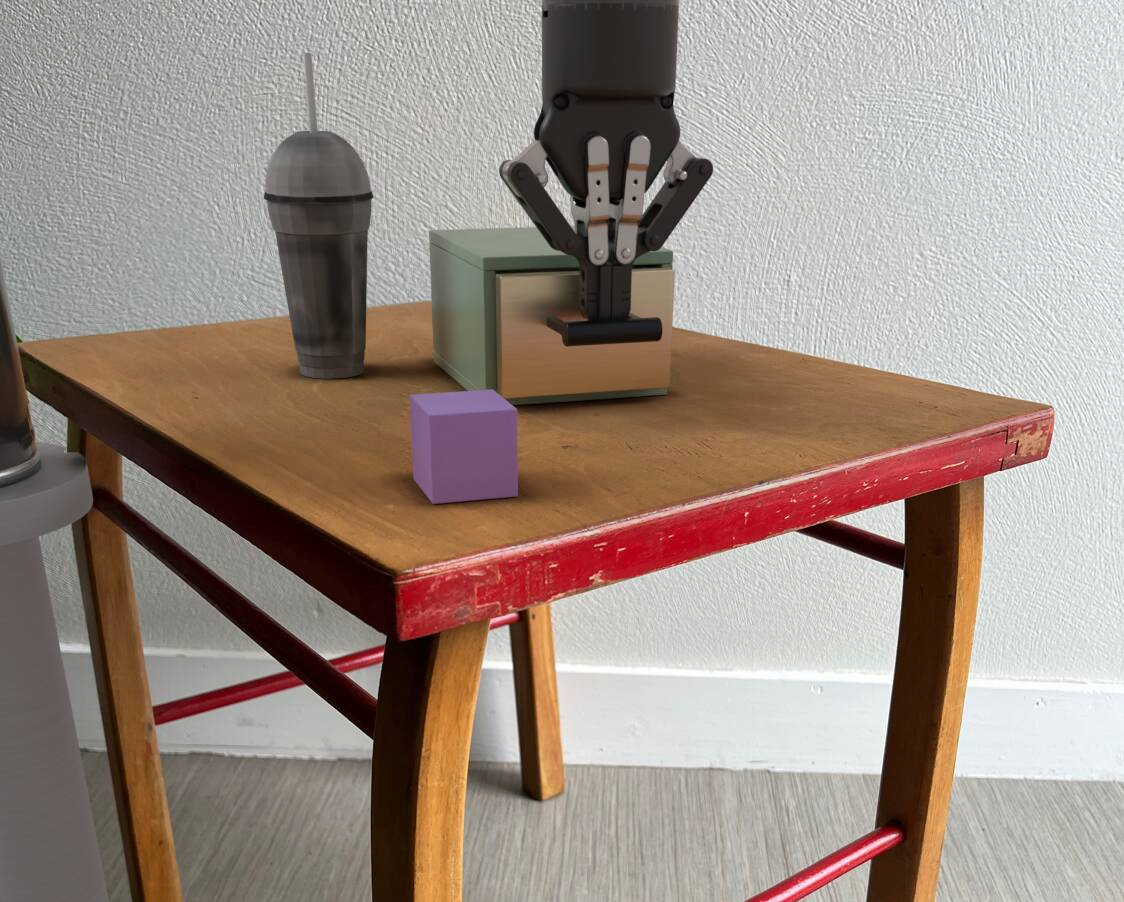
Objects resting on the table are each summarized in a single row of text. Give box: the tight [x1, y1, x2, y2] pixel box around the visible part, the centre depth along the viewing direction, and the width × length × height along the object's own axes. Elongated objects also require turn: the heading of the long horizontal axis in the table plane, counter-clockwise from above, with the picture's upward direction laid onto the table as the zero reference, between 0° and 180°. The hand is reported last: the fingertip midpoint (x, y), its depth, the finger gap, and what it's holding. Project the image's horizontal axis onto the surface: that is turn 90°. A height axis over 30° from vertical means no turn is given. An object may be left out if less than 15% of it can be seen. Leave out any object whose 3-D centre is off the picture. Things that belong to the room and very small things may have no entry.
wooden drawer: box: [495, 265, 676, 399], centre depth 84 cm, size 18×11×7 cm, turn 18°
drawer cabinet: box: [428, 225, 674, 406], centre depth 88 cm, size 15×13×9 cm
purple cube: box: [409, 389, 519, 505], centre depth 66 cm, size 4×4×4 cm
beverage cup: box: [263, 52, 374, 380], centre depth 87 cm, size 7×7×20 cm
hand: (603, 327), depth 78 cm, fingers closed
